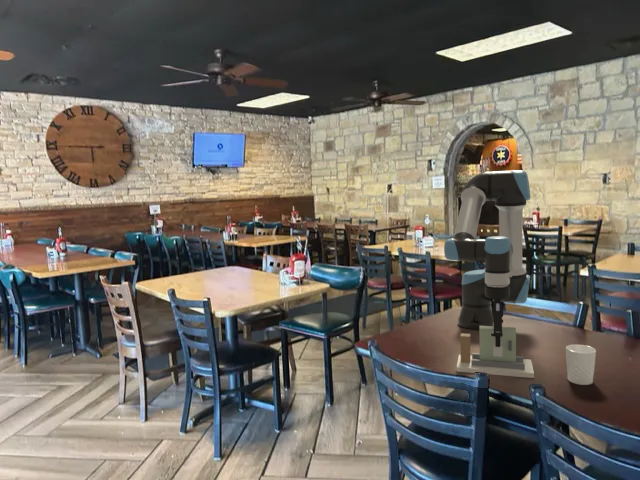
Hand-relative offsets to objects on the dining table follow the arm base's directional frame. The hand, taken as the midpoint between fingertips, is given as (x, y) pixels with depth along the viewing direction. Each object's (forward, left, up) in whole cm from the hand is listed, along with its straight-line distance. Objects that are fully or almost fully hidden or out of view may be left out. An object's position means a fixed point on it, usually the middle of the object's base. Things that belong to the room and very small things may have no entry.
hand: (497, 348), depth 158 cm
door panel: (0, 0, -5) cm, 5 cm away
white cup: (+20, +13, -7) cm, 25 cm away
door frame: (0, 0, -7) cm, 7 cm away
